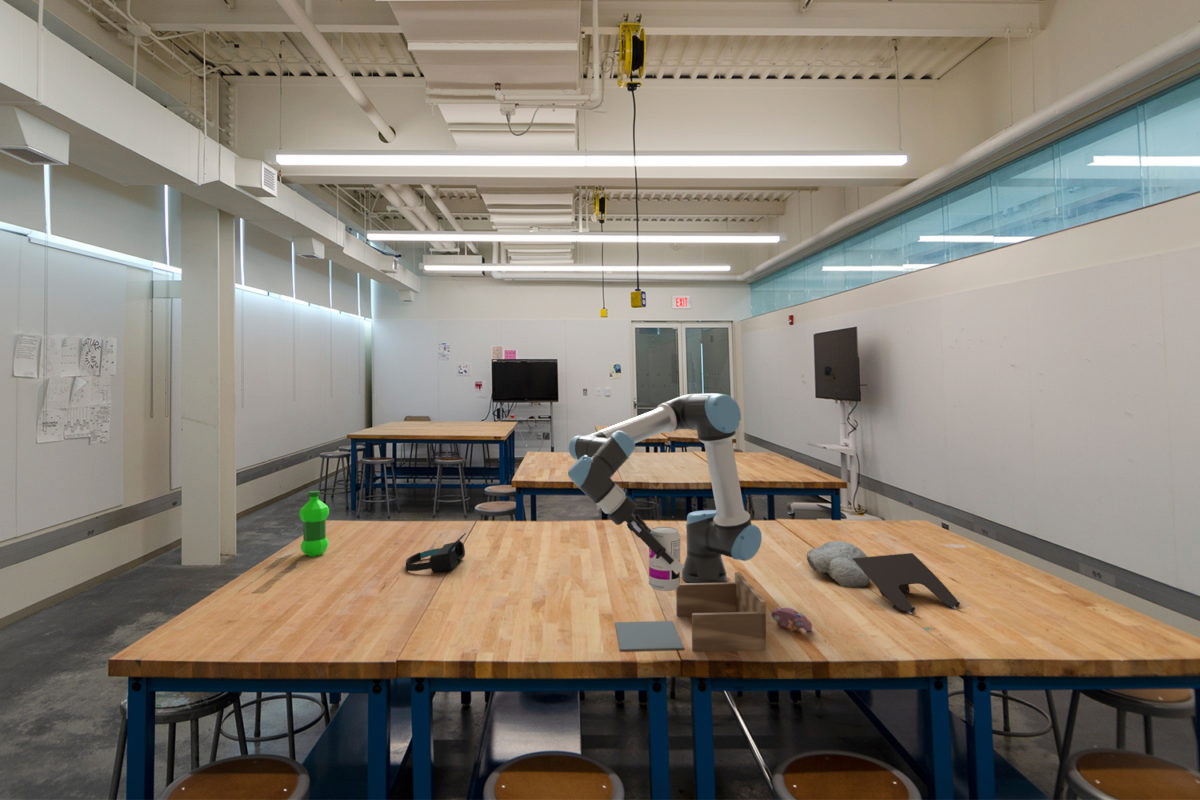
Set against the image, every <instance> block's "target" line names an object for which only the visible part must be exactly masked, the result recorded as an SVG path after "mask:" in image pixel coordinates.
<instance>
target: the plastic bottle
mask: <svg viewBox="0 0 1200 800" xmlns="http://www.w3.org/2000/svg"><path fill="white" fill-rule="evenodd" d="M320 496H321V491H320V490H310V491H308V492H307V497H309V500H308V501H307V502H306V503H305V504H304V505H302V507H301V508H300V509H299V512H298V514H299V519H300V521H302V522H303V523H302V525H303V527H302V529H303V534H302V535H303V540H302V542H301V544H300V549H301V552H302V553H303V554H305V555H306V556H307V555H308V557H317V556H316V555H319V556H321V554H322V555H323V554H324V552H325V551H326V550H327V549H328V546H329V539H328V538H327V536H326V535H327V533H326V531H327V530H326V528H327V527H326V526H327V525H326V524H327V523H326V521H327V518H328V517H329V514H330V508H329V507H328V505H327V504H326V503H324V502H323V501H322V500H320V498H319V497H320Z"/></svg>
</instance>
